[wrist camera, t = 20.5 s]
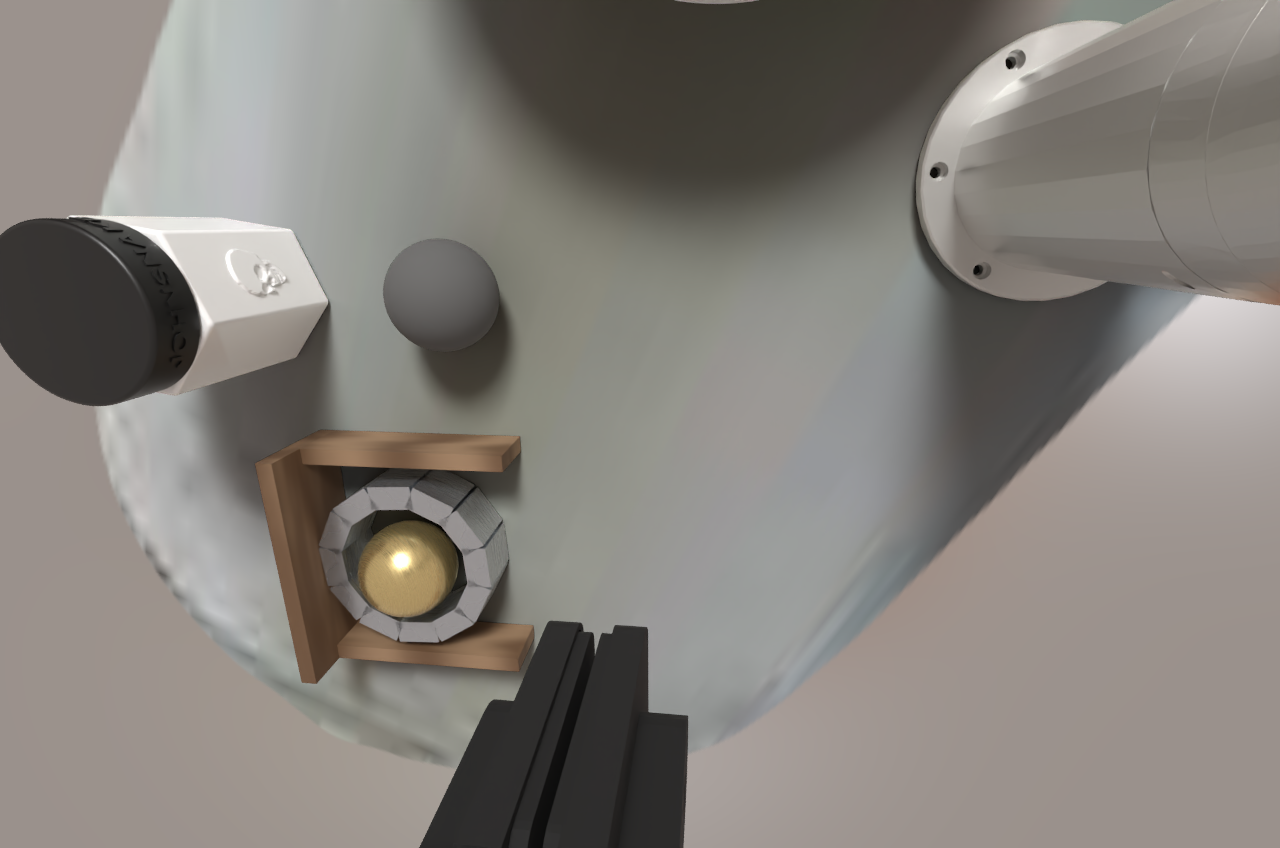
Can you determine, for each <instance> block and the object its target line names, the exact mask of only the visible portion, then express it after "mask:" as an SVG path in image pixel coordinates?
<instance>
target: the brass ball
mask: <svg viewBox="0 0 1280 848" xmlns="http://www.w3.org/2000/svg"><path fill="white" fill-rule="evenodd" d="M458 566H459V565H458V555H457V552H456V549H455V546H454V544H453V543H452V541H451V540H450V538H449V537H448V536H447V535H446V534H445V533H444V532H443V531H442V530H441V529H439V528H438V527H436V526H434V525H432V524H430V523H426V522H423V521H409V520H408V521H402V522H398V523H394V524H392V525H389V526H387V527H386V528H384V529H382V530H381V531H379V532H378V533H377V534H376V535H374V536H373V537H372V538H371V540H370V541H369V542H368V544H367V545H366V546H365V548H364V550H363V552H362V554H361V557H360V560H359V564H358V582H359V585H360V588H361V591H362V593H363V595H364V597H365V598H366V599H367V601H368V602H369V603H370V604H371V605H372V606H373V607H375V608H376V609H377V610H379V611H381V612H383V613H385V614H388V615H391V616H395V617H413V616H417V615H421V614H424V613H426V612H428V611H430V610H432V609H434V608H435V607H436V606H438V605H439V604H440V603H441V602H442V601H443V600H444V599H445V598H446V597H447V596H448V595H449V593H450V592H451V590H452V588H453V586H454V584H455V581H456V578H457V574H458Z"/></svg>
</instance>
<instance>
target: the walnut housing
mask: <svg viewBox="0 0 1280 848" xmlns="http://www.w3.org/2000/svg"><path fill="white" fill-rule="evenodd" d="M520 452H521V445H520V436H493V435H463V434H432V433H402V432H371V431H340V430H319V431H317V432H315V433H313V434H311V435H309V436H307V437H305V438H303V439H301V440H299V441H297V442H295V443H293V444H291V445H290V446H288V447H286V448H284V449H282V450H280V451H278V452H276V453H274V454H272V455H270V456H268V457H266V458H264V459H262V460H260V461H258V462H257V463H255V467H256V471H257V476H258V481H259V485H260V490H261V494H262V499H263V504H264V508H265V513H266V518H267V522H268V527H269V532H270V536H271V541H272V546H273V550H274V555H275V560H276V564H277V569H278V574H279V578H280V583H281V588H282V592H283V597H284V602H285V606H286V611H287V616H288V620H289V625H290V630H291V634H292V639H293V644H294V648H295V653H296V658H297V662H298V667H299V672H300V676H301V681H302V683H313V684H317V683H318V681H319V680H320V679H321V678H322V677H323V676H324V675H325V673H326V672H327V671H328V670H329V669H330V668H331V667H332V665H333V664H334V663H335V662H336V661H337V660H338V659H339V658H351V659H363V660H376V661H389V662H402V663H415V664H427V665H440V666H453V667H466V668H479V669H491V670H504V671H517V672H519V671H520V669H521V666H522V664H523V662H524V659H525V657H526V655H527V653H528V650H529V648H530V646H531V644H532V641H533V639H534V627H533V625H519V624H504V623H490V622H475V623H474V624H473V625H472V626H470V627H468V628H466V629H464V630H462V631H461V632H459V633H457V634H455V635H453V636H452V637H450V638H448V639H446V640H444V641H441V640H440V641H439V642H400V639H399V638H398V639H397V641H396V640H394V639H392V638H390V637H388V636H386V635H384V634H382V633H380V632H378V631H376V630H374V629H372V628H370V627H368V626H365V625H363V624H361V623H359V622H360V619H361V618H359V619H358V620H356V619H355V618H354V617H353V616H352V615H351V613H350V612H349V611H348V610H347V609H346V608H345V606H344V605H343V604H342V603H341V602H340V600H339V599H338V598H337V597H336V596H335V595H334V593H333V592H332V591H331V590H330V588H331V587H332V586H328V584H327V580H326V576H325V572H324V568H323V564H322V560H321V556H320V552H319V548H320V547H321V546H319V543H320V541H321V538H322V535H323V532H324V529H325V526H326V523H327V520H328V518H329V515H330V512H331V511H332V510H333V508H335V507H336V506H337V505H339V504H340V503H341V502H343V501H344V500H345V499H346V497H345V491H344V485H343V479H342V474H341V468H340V466H359V467H385V468H410V469H435V470H460V471H485V472H503V471H504V470H505V469H506V468H507V467H508V466H509V464H510V463H511V462H512V461H513V460H514V459H515V457H516V456H517V455H518V454H519V453H520Z"/></svg>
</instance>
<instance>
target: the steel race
mask: <svg viewBox="0 0 1280 848" xmlns="http://www.w3.org/2000/svg"><path fill="white" fill-rule="evenodd" d="M474 486H475V484H473V483H471V482H469V481H467V480H465V479H463V478H461V477H459V476H457V475H455V474H453V473H451V472H449V471H447V470H435V469H410V468H390V469H389V470H387V471H386V472H384V473H383V474H381V475H380V476H378V477H377V478H375V479H374V480H372V481H371V482H369V483H368V484H366V485H365V486H363V487H362V488H360V489H359V490H358V491H356V492H355V493H354V494H352V495H351V496H350V497H348V498H347V499H345V500H344V501H343V502H341V503H340V504H339V505H337V506H336V507H335V508H333V510H332V511H331V512H330V515H329V518H328V520H327V523H326V526H325V529H324V532H323V535H322V538H321V541H320V543H319V546H321V547H320V548H319V552H320V556H321V560H322V564H323V568H324V572H325V576H326V580H327V584H328V586H332V587H331V588H330V590H331V591H332V592H333V593H334V595H335V596H336V597H337V598H338V599H339V600H340V602H341V603H342V604H343V605H344V606H345V608H346V609H347V610H348V611H349V612H350V613H351V615H352V616H353V617H354V618H355V619H356V620H358V619H359V618H361V619H360V622H359V623H361V624H363V625H365V626H368V627H370V628H372V629H374V630H376V631H378V632H380V633H382V634H384V635H386V636H388V637H390V638H392V639H394V640H396V641H397V639H398V638H399V639H400V642H439V641H440V640H441V641H444V640H446V639H448V638H450V637H452V636H453V635H455V634H457V633H459V632H461V631H462V630H464V629H466V628H468V627H470V626H472V625H473V624H474V623H475V622H476V621H477V619H478V617H479V616H480V614H481V612H482V611H483V609H484V608H485V606H486V604H487V603H488V601H489V599H490V598H491V596H492V594H493V593H494V591H495V589H496V587H497V585H498V583H499V581H500V579H501V577H502V574H503V572H504V570H505V568H506V566H507V564H508V560H509V554H508V547H507V541H506V534H505V527H504V523H500V522H501V521H502V518H501V517H500V515H499V514H498V513H497V512H496V510H495V509H494V508H493V506H492V505H491V504H490V502H489V501H488V500H487V498H486V497H485V496H484V494H483V493H482V492H481V491H480V489H479V488H478V487H477V488H476V489H474V490H473V488H474ZM377 510H410V511H412V512H414V513H416V514H418V515H420V516H422V517H424V518H426V519H429V520H431V521H433V522H435V523H437V524H439V525H441V526H442V528H443V529H444V530H445V532H446V533H447V534H448V535H449V537H450V538H451V539H452V540H453V542H454V543H455V544H456V545H457V547H458V548H459V549H460V551H461V552H462V554H463V560H464V566H465V572H466V577H467V584H466V585H464V586H463V587H461V588H459V589H457V590H456V591H454V592H450V593H449V595H448V596H447V597H446V598H445V599H444V600H443V601H442V602H441V603H440V604H439V605H438V606H436V607H435V608H434V609H432V610H430V611H428V612H426V613H424V614H421V615H417V616H413V617H395V616H391V615H388V614H385V613H383V612H381V611H379V610H377V609H376V608H375V607H373V606H372V605H371V604H370V603H369V602H368V601H367V599H366V598H365V597H364V595H363V593H362V591H361V588H360V585H359V582H358V564H359V560H360V557H361V554H362V552H363V550H364V548H365V546H366V545H367V544H368V542H369V541H370V540H371V538H372V537H373V533H372V529H371V526H372V523H373V521H374V518H375V515H376V513H377Z"/></svg>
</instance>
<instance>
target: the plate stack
mask: <svg viewBox="0 0 1280 848" xmlns="http://www.w3.org/2000/svg"><path fill="white" fill-rule="evenodd" d="M676 1H681V2H690V3H702V4H730V3H743V2H751V1H757V0H676Z"/></svg>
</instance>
